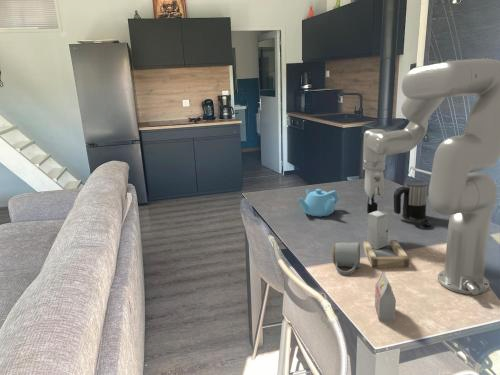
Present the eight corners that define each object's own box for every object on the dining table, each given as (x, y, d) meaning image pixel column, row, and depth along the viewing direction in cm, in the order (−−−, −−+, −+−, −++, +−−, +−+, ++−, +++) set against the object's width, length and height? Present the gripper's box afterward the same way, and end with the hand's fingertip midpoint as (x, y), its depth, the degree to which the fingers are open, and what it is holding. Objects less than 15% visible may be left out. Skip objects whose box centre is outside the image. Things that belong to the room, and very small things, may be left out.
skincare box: (376, 250, 131) (378, 216, 128) (366, 245, 135) (367, 213, 131) (388, 245, 134) (389, 212, 131) (378, 241, 138) (379, 209, 135)
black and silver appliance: (412, 211, 165) (414, 178, 161) (446, 222, 151) (449, 186, 147) (389, 219, 158) (390, 184, 154) (422, 230, 145) (424, 193, 141)
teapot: (332, 220, 161) (332, 195, 158) (297, 217, 167) (297, 193, 164) (339, 208, 175) (339, 185, 172) (306, 206, 180) (306, 184, 178)
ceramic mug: (334, 258, 127) (334, 237, 124) (360, 260, 124) (360, 238, 122) (331, 274, 117) (331, 251, 115) (359, 277, 115) (359, 253, 112)
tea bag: (389, 306, 99) (391, 271, 96) (394, 321, 93) (396, 284, 90) (374, 305, 100) (375, 270, 97) (378, 321, 93) (380, 284, 91)
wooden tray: (408, 267, 118) (409, 258, 117) (372, 267, 119) (372, 259, 118) (395, 248, 132) (396, 240, 131) (362, 248, 132) (363, 240, 132)
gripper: (390, 169, 127) (388, 220, 133) (379, 159, 142) (377, 206, 147) (367, 170, 128) (366, 221, 133) (358, 160, 142) (357, 207, 148)
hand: (372, 213), depth 140 cm, fingers closed
